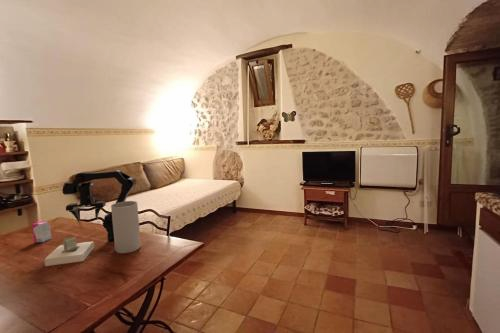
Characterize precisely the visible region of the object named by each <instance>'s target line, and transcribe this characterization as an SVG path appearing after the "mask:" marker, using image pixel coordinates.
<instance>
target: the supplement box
mask: <svg viewBox="0 0 500 333" xmlns="http://www.w3.org/2000/svg"><path fill="white" fill-rule="evenodd" d="M51 232H52V231H51V225H50V221H48V220H40V221H38V222H35V223H32V234H33V240H34V244H36V243H37V244H44V243H46V242H48V241H51V240H52V235H51V234H52V233H51Z"/></svg>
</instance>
